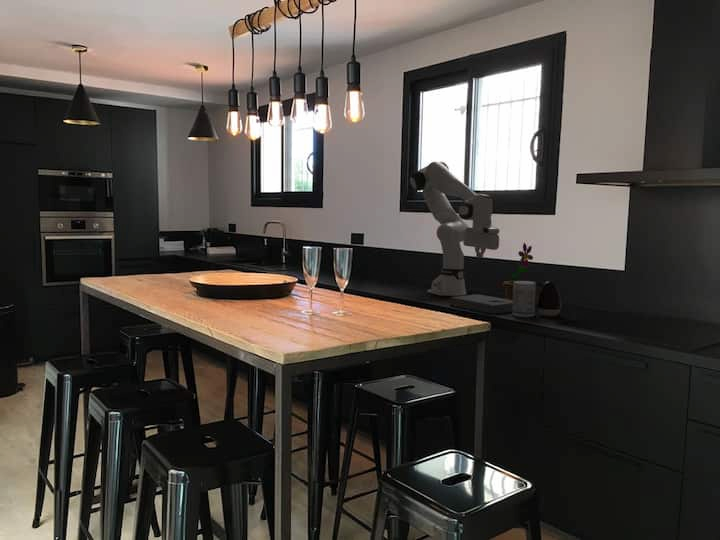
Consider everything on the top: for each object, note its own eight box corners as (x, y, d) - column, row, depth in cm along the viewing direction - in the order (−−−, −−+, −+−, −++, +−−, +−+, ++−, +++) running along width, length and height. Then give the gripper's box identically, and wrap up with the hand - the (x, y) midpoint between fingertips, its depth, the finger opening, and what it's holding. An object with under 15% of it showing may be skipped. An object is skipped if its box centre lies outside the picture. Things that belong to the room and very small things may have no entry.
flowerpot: (521, 306, 278) (523, 243, 275) (496, 303, 289) (498, 242, 286) (538, 303, 288) (540, 242, 285) (513, 300, 298) (515, 241, 295)
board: (450, 305, 282) (450, 297, 281) (477, 302, 292) (477, 294, 291) (493, 314, 258) (493, 305, 258) (521, 310, 268) (521, 301, 268)
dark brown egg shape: (536, 313, 262) (537, 279, 261) (560, 314, 259) (562, 280, 257) (535, 317, 253) (536, 282, 251) (561, 318, 249) (562, 283, 248)
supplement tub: (515, 312, 262) (516, 280, 261) (537, 314, 258) (538, 281, 256) (509, 316, 254) (510, 282, 252) (531, 318, 249) (532, 284, 248)
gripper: (461, 226, 286) (459, 254, 288) (492, 230, 269) (490, 260, 271) (470, 226, 289) (468, 254, 291) (502, 230, 272) (500, 259, 274)
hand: (479, 257), depth 281 cm, fingers closed
